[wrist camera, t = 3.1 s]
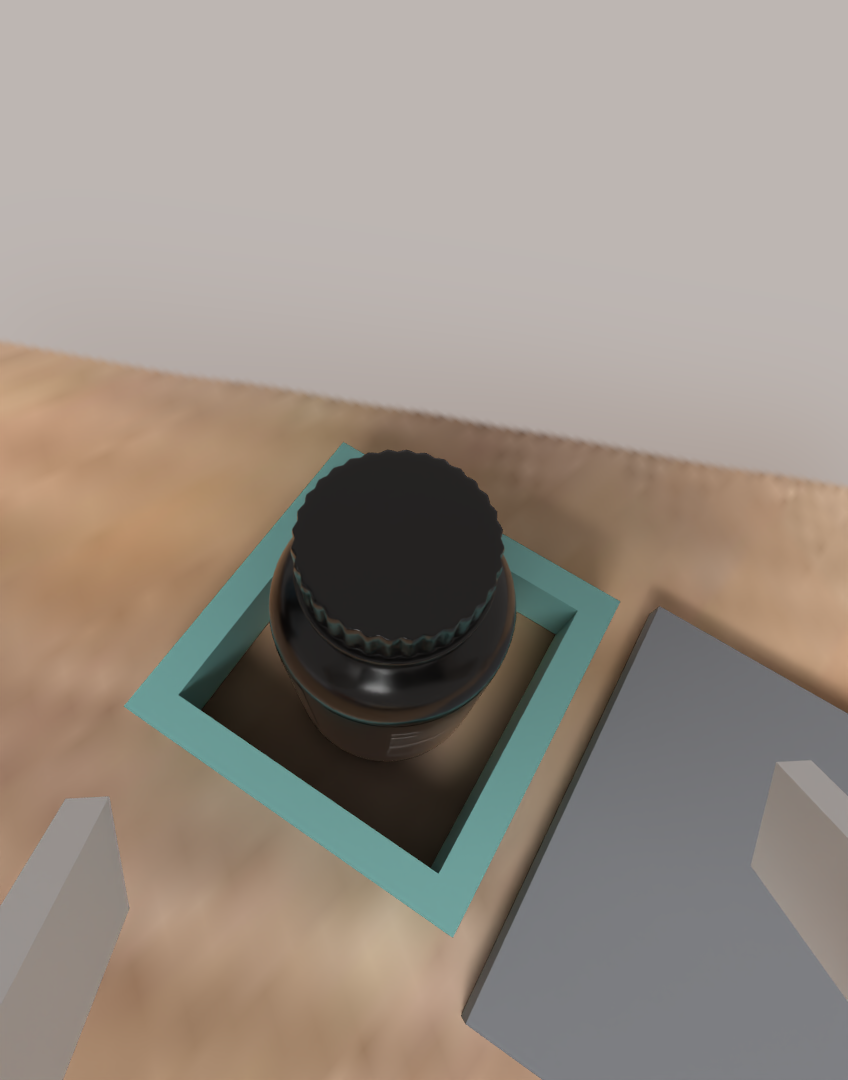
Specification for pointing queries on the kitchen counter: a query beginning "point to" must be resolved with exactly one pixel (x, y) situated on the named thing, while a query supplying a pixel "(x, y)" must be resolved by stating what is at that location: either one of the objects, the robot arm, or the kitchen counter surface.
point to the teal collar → (428, 891)
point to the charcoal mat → (670, 887)
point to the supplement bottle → (392, 603)
